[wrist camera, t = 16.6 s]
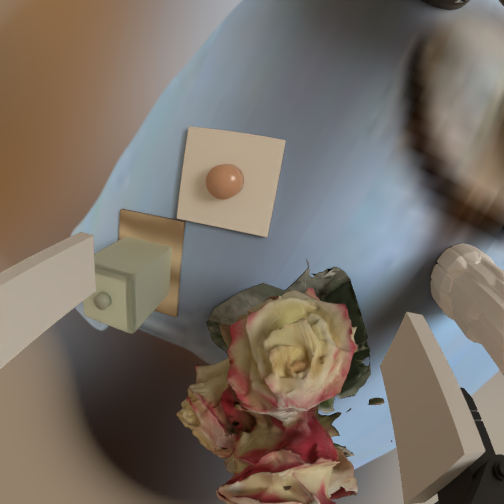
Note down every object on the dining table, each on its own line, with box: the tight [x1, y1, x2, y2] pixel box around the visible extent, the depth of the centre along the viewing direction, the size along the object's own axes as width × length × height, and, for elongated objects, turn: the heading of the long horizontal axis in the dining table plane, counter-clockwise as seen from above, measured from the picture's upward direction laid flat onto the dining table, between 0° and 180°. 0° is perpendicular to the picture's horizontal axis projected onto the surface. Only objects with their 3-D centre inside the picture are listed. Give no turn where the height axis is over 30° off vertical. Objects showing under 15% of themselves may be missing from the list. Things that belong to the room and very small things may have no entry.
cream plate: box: [177, 126, 286, 237], centre depth 38 cm, size 13×13×3 cm
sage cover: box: [83, 236, 172, 334], centre depth 39 cm, size 8×8×13 cm
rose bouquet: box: [177, 261, 392, 504], centre depth 32 cm, size 26×29×30 cm
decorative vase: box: [430, 243, 504, 375], centre depth 26 cm, size 11×11×25 cm
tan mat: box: [119, 209, 185, 317], centre depth 45 cm, size 16×11×1 cm
